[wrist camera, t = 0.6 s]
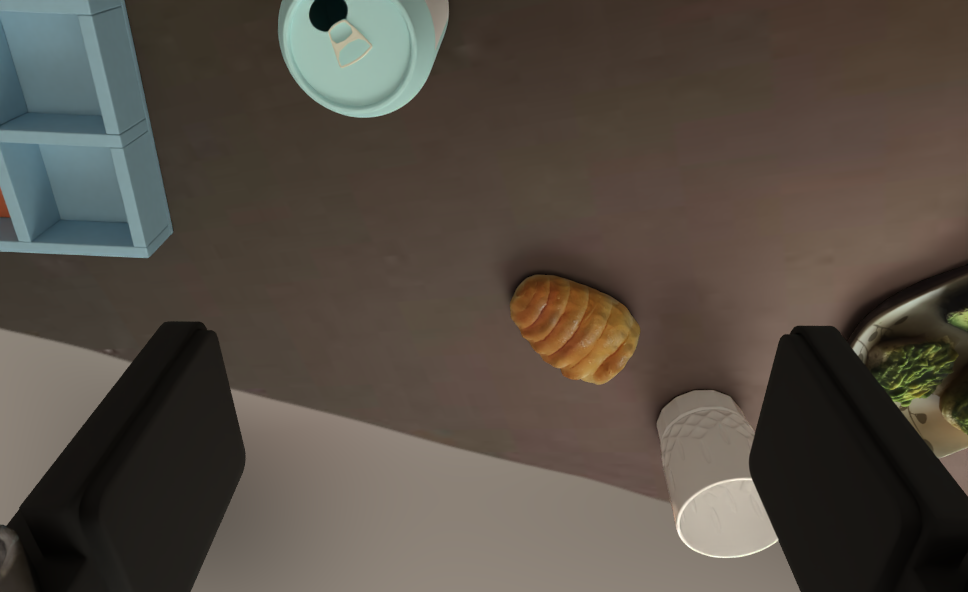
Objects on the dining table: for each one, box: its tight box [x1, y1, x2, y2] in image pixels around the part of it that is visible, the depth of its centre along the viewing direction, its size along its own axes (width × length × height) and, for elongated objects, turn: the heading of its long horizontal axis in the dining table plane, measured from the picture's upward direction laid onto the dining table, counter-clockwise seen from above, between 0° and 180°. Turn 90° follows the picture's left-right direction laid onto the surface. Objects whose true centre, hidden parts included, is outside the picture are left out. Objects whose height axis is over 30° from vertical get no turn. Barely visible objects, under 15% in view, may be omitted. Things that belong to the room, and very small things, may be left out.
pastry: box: [510, 275, 640, 385], centre depth 48 cm, size 9×7×4 cm
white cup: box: [656, 390, 778, 558], centre depth 51 cm, size 8×8×10 cm
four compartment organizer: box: [0, 0, 173, 258], centre depth 41 cm, size 15×15×4 cm
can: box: [278, 0, 449, 117], centre depth 34 cm, size 7×7×12 cm
